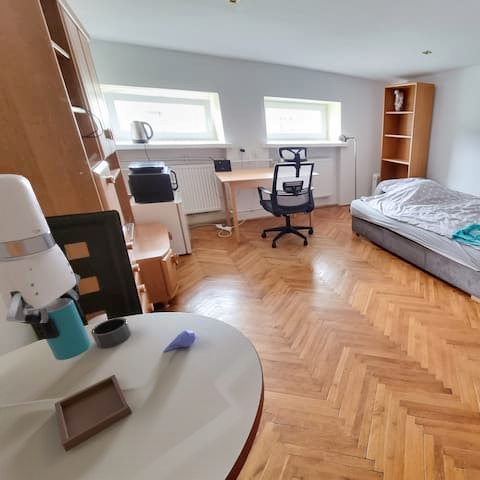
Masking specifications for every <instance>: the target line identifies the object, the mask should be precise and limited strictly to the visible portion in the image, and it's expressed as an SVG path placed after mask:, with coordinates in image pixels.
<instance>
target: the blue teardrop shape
mask: <svg viewBox="0 0 480 480" xmlns="http://www.w3.org/2000/svg"><path fill="white" fill-rule="evenodd" d="M196 337H197V336H196V334H195V332H194V331H193V330H189V329H188V330H183V331H181V332H180V333H179V334H178V335H177V336H175V338H174V339H173V340H172V341H170V343H169V344H168V345H167V346H166V347H165V348H164V349H163V351H162V352H163V353H165V352H168V351H172V350H175V349H178V348H187V347H189V348H190V347H191V346H192V345H193V344H194V343H195V341H196V339H197V338H196Z"/></svg>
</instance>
